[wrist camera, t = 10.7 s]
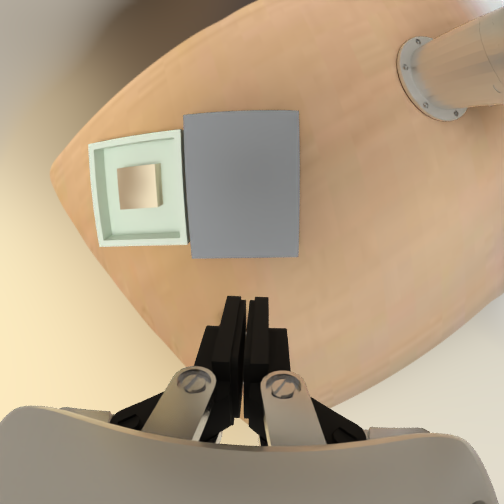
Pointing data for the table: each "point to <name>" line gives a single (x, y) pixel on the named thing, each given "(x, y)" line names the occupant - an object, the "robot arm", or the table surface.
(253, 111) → the plate
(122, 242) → the box
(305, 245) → the table surface
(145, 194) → the block
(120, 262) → the table surface
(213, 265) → the table surface
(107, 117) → the table surface
